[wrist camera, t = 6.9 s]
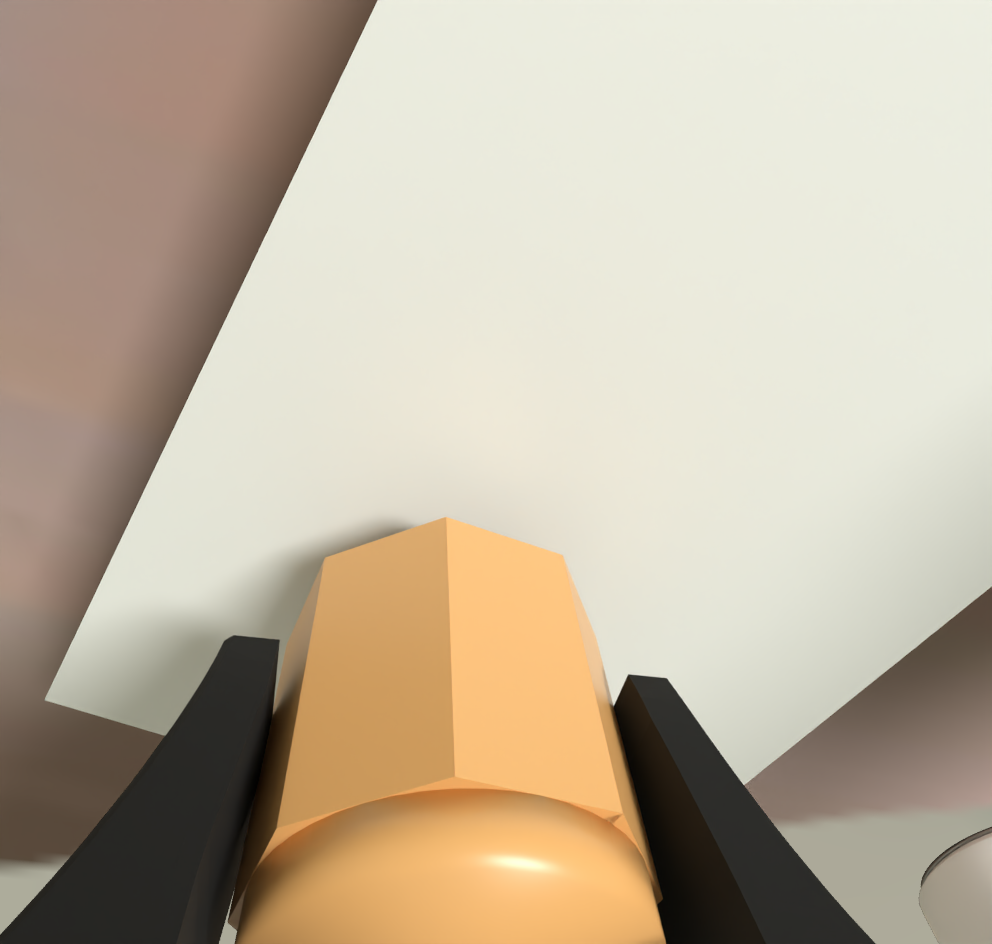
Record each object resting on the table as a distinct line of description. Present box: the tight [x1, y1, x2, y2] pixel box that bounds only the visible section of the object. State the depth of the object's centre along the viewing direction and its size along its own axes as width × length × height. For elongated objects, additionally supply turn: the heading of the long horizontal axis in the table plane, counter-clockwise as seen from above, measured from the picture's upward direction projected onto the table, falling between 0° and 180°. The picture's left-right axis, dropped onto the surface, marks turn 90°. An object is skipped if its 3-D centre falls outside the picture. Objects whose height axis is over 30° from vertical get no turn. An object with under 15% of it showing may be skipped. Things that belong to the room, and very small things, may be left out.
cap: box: [228, 517, 666, 944], centre depth 10 cm, size 5×5×5 cm
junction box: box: [45, 0, 992, 785], centre depth 12 cm, size 14×18×6 cm
